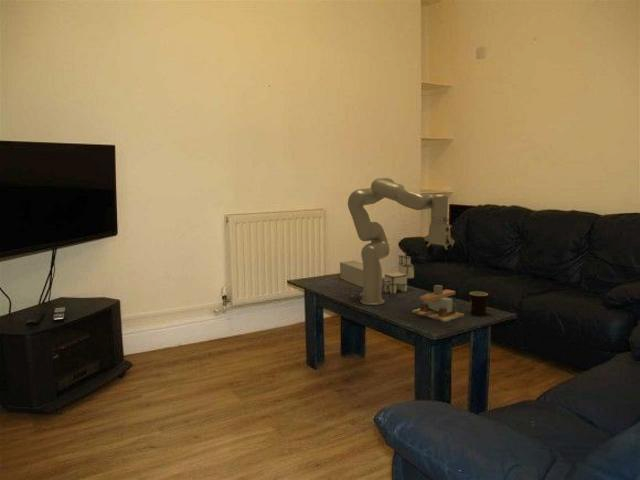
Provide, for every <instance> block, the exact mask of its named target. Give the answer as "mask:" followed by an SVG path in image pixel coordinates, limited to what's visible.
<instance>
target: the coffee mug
mask: <svg viewBox="0 0 640 480" xmlns="http://www.w3.org/2000/svg"><path fill="white" fill-rule="evenodd" d="M488 297H489V293H487V292H484V291H479V290H477V291H475V290H474V291H470V292H469V301H470V302H469V303H470V313H471V315H473V316H475V317H481V316H486V311H487V305H488Z"/></svg>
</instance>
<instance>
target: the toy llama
mask: <svg viewBox="0 0 640 480" xmlns="http://www.w3.org/2000/svg"><path fill="white" fill-rule="evenodd" d="M411 260H412V259H411V256H408V255H405V254H404V255H403V254H400V255H398V272H393V273H387V274H386V273H385V274H384V279H383V285H384V292H385V293H389V294H390V295H397V292H399V291H400V292H401V293H403V294H404V293H407V292H408V280H409V279H414V278H415V265H414V264H412V263H411V262H412V261H411Z"/></svg>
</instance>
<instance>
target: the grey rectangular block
mask: <svg viewBox="0 0 640 480" xmlns="http://www.w3.org/2000/svg"><path fill="white" fill-rule="evenodd" d="M339 275H340V276H339V279H340V278H341V280H343V279H344V281H345V282H348V283H351V284H353V285H356V286H359V287H361V288H363V262H361V261H357V260H346V261H340V262H339ZM382 287H383V269H382V268H381V288H382Z"/></svg>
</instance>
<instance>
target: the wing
mask: <svg viewBox="0 0 640 480" xmlns="http://www.w3.org/2000/svg"><path fill="white" fill-rule="evenodd" d="M443 288H444V285H442V284H441V285H440V284H435V285H433V292H432V293H427V294H428V295H425V294H423V295H421V296H420V297H419V300H421V301H423V302H424V301H428V302H429V301H433V302H438V299H440V298H444V297H446V298H449V297H451V296H455V295H456V291H455V290H452V289H444V290H443Z"/></svg>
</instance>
